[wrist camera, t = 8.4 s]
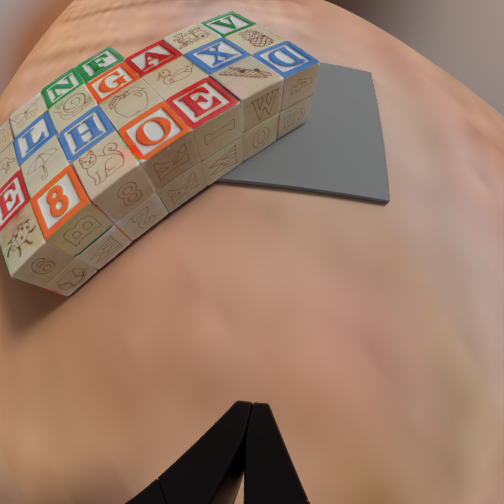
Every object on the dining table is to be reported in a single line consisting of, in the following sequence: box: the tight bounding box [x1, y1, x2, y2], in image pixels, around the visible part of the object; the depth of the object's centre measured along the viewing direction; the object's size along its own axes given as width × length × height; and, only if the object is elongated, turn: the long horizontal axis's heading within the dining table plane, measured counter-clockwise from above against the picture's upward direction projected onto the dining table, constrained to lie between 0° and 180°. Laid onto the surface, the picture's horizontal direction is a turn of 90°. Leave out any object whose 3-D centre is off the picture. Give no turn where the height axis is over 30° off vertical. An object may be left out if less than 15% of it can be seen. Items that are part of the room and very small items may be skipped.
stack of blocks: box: [0, 11, 320, 296], centre depth 18 cm, size 21×6×12 cm
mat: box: [216, 63, 390, 203], centre depth 22 cm, size 14×22×1 cm, turn 83°
